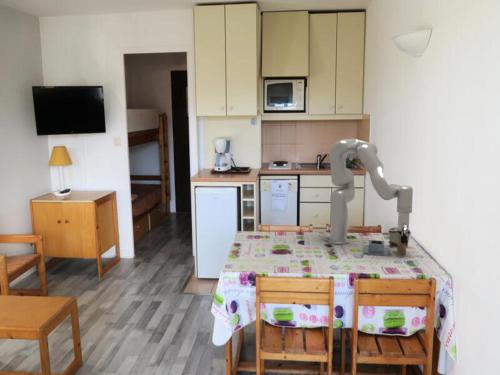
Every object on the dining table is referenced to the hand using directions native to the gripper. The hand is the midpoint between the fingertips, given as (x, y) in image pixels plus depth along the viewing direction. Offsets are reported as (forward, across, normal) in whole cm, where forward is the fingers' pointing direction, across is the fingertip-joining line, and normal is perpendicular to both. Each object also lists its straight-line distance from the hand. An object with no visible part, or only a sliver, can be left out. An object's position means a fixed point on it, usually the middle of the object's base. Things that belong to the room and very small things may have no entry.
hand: (403, 240), depth 233 cm
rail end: (+7, 0, -1) cm, 7 cm away
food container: (+7, -14, -2) cm, 16 cm away
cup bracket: (+7, 0, -14) cm, 15 cm away
